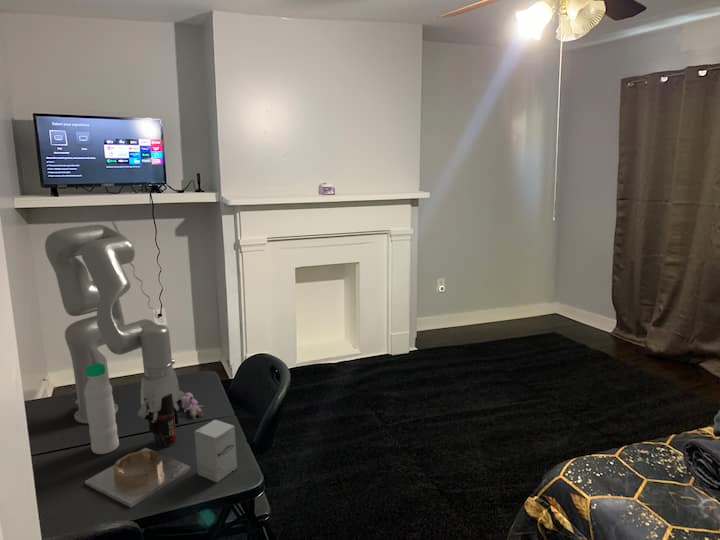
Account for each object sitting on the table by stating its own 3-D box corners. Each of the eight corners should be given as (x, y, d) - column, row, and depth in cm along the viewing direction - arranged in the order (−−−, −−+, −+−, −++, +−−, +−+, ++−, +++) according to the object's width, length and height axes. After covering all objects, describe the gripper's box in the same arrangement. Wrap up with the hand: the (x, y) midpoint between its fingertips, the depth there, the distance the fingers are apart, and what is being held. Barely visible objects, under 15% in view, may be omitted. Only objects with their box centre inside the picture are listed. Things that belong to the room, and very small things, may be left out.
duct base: (85, 484, 138) (83, 470, 137) (146, 450, 153) (144, 437, 152) (130, 507, 129) (129, 492, 128) (190, 469, 144) (189, 456, 143)
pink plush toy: (208, 419, 173) (192, 395, 185) (208, 403, 171) (192, 380, 182) (188, 425, 170) (173, 400, 181) (188, 409, 168) (173, 385, 179)
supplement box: (217, 483, 138) (213, 438, 135) (197, 474, 142) (193, 430, 139) (238, 469, 144) (235, 425, 141) (218, 461, 148) (214, 418, 145)
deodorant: (169, 448, 154) (164, 399, 151) (150, 446, 155) (145, 397, 152) (180, 437, 160) (176, 390, 157) (162, 435, 161) (157, 388, 158)
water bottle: (86, 452, 153) (74, 369, 147) (105, 440, 159) (95, 359, 154) (105, 457, 150) (94, 372, 145) (124, 444, 157) (114, 362, 151)
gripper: (174, 356, 162) (179, 412, 166) (122, 377, 148) (130, 438, 152) (191, 361, 158) (196, 418, 162) (140, 383, 144) (147, 445, 148)
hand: (164, 427), depth 157 cm, fingers closed on deodorant, 5 cm apart
